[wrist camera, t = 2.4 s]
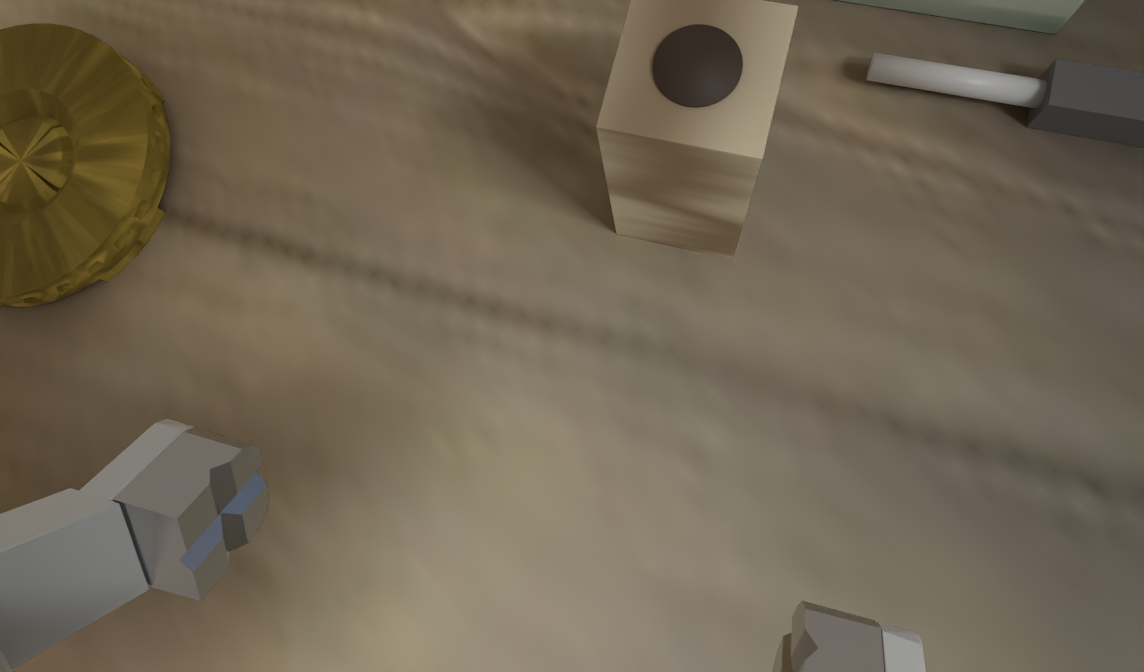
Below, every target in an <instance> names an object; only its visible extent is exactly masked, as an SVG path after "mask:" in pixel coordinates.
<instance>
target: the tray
mask: <svg viewBox="0 0 1144 672" xmlns="http://www.w3.org/2000/svg"><path fill="white" fill-rule="evenodd" d="M838 1H845V2H851V3H858V4H864V5H871V6H877V7H883V8H890V9H896V10H903V11H909V12H916V13H922V14H928V15H935V16H941V17H948V18H954V19H961V20H967V21H973V22H980V23H986V24H993V25H999V26H1006V27H1012V28H1019V29H1025V30H1031V31H1038V32H1044V33H1051V34H1057V32H1058V31H1059V30H1060V29H1061V28H1062V27H1063V25H1064V24H1065V23H1066V22H1067V21H1068V20H1069V19H1070V17H1071V16H1072V15H1073V14H1074V13H1075V12H1076V10H1077V9H1078V8H1079V7H1080V6H1081V5H1082V3H1083V2H1084V1H1085V0H838Z"/></svg>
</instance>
